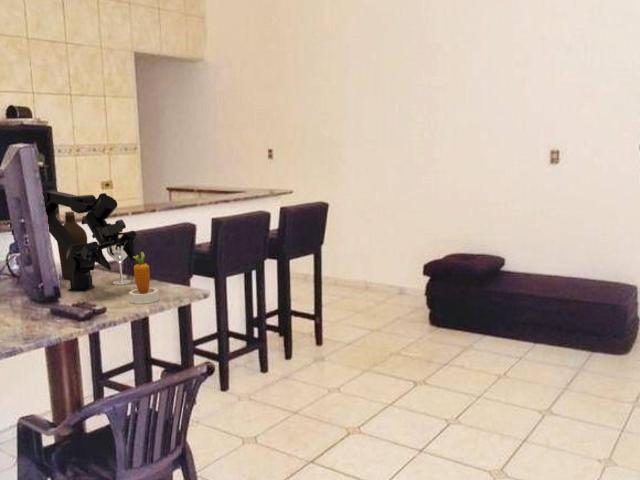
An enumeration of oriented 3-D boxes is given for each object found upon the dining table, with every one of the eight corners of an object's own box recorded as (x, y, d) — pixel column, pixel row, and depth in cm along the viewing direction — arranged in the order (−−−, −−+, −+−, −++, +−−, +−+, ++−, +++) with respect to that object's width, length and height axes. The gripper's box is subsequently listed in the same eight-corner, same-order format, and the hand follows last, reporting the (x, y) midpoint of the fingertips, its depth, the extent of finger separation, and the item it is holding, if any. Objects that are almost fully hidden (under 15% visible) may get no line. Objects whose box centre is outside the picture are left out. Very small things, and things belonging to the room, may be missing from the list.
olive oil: (69, 282, 227) (62, 214, 223) (55, 278, 234) (48, 212, 230) (96, 276, 235) (90, 211, 230) (82, 272, 242) (76, 209, 237)
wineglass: (126, 285, 219) (122, 235, 216) (105, 285, 221) (100, 235, 218) (137, 280, 227) (133, 231, 224) (117, 279, 229) (113, 231, 226)
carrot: (141, 301, 196) (137, 255, 194) (132, 298, 199) (129, 253, 197) (155, 297, 200) (151, 252, 197) (146, 295, 203) (142, 250, 200)
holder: (125, 303, 196) (124, 294, 196) (137, 296, 205) (136, 287, 204) (151, 304, 195) (151, 295, 194) (163, 296, 203) (162, 287, 203)
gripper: (80, 220, 193) (105, 260, 190) (131, 207, 207) (155, 244, 204) (70, 239, 201) (94, 278, 198) (120, 225, 214) (143, 262, 211)
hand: (122, 265), depth 202 cm, fingers open, 9 cm apart
